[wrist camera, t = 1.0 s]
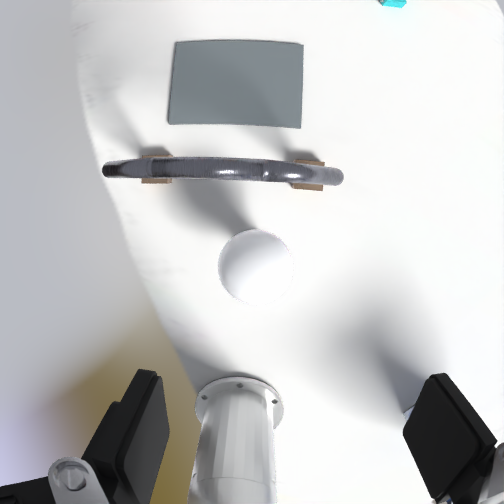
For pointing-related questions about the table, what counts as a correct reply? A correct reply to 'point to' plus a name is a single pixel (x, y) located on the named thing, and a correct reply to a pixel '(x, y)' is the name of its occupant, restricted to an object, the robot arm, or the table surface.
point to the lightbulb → (255, 267)
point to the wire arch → (225, 170)
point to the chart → (393, 3)
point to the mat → (237, 83)
